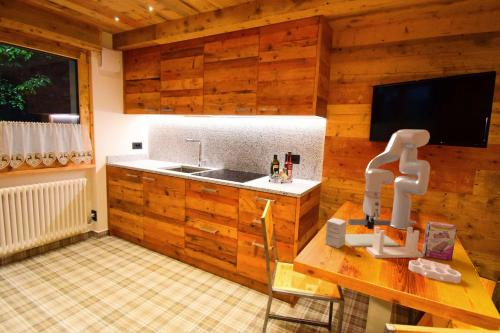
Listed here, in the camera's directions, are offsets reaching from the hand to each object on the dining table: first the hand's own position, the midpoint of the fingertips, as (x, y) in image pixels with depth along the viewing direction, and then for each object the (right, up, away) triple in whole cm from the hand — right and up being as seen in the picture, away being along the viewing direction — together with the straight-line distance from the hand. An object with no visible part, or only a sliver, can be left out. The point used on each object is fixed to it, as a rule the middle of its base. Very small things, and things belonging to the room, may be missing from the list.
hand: (368, 227), depth 144 cm
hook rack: (+6, -10, -13) cm, 17 cm away
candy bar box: (+26, -11, -15) cm, 32 cm away
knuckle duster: (+14, -13, -29) cm, 35 cm away
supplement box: (-19, -8, -4) cm, 22 cm away
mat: (0, -7, +1) cm, 7 cm away
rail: (0, +2, 0) cm, 2 cm away
